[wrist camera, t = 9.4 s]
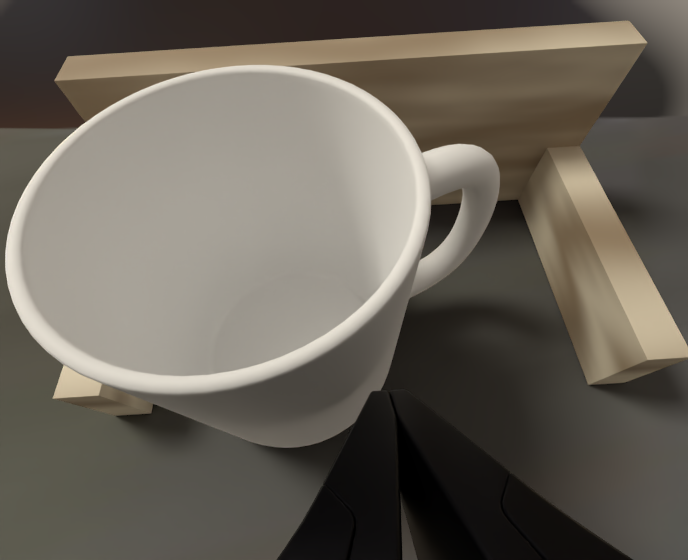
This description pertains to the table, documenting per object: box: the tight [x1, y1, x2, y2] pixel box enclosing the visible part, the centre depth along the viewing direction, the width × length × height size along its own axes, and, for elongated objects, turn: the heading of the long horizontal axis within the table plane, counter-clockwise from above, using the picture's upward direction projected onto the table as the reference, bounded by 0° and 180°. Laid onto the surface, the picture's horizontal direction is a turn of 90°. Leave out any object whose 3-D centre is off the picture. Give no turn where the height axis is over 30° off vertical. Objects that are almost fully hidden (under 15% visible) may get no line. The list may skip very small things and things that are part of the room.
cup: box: [5, 65, 500, 448], centre depth 12 cm, size 8×12×10 cm
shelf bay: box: [53, 21, 688, 416], centre depth 14 cm, size 12×21×8 cm, turn 93°
